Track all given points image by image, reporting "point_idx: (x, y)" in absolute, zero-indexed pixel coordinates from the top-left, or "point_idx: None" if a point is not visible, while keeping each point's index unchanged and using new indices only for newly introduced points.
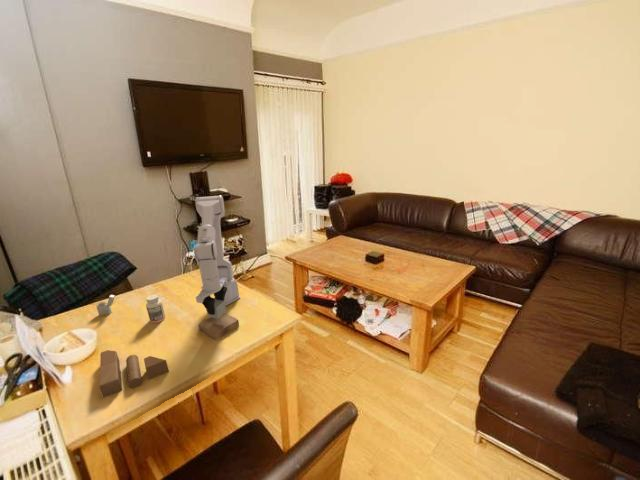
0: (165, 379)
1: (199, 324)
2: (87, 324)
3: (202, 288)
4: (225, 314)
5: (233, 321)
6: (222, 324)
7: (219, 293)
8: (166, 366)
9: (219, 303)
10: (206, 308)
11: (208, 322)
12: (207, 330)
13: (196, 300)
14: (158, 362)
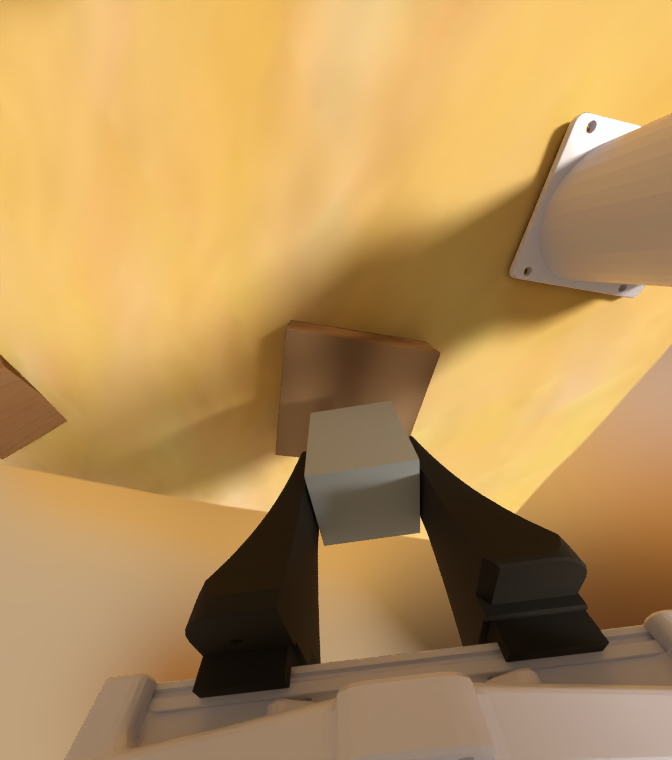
0: (45, 439)
1: (287, 339)
2: None
3: (338, 728)
4: (417, 394)
5: None
6: None
7: (453, 579)
8: (34, 436)
9: (377, 530)
10: (286, 491)
11: (324, 369)
12: (280, 404)
13: (81, 729)
14: None
